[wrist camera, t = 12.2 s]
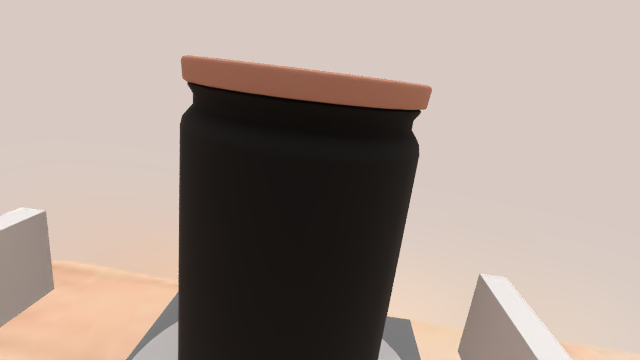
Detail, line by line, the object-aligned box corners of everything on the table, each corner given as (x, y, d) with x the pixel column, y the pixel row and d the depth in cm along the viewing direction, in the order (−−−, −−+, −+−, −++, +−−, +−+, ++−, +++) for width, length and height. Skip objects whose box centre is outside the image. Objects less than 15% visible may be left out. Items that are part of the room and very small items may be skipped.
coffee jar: (306, 313, 28) (336, 76, 23) (406, 428, 19) (488, 93, 14) (159, 358, 22) (156, 52, 17) (211, 552, 14) (236, 58, 9)
